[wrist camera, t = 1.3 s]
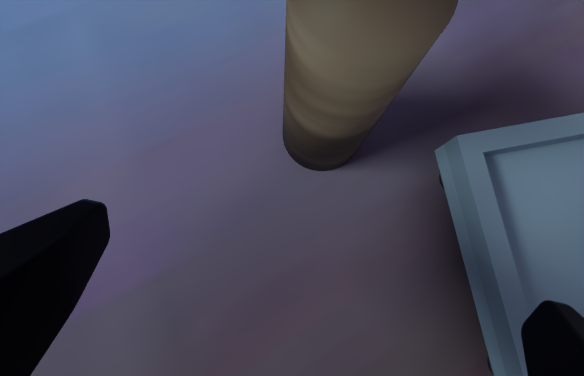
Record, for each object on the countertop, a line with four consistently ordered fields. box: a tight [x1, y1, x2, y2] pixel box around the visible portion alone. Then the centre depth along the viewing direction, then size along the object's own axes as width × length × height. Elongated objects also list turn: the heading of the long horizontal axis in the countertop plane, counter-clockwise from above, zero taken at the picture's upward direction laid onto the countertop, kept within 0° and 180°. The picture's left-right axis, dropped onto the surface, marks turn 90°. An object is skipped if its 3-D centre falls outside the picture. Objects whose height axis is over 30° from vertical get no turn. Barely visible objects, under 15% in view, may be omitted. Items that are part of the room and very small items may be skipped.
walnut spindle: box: [283, 0, 458, 171], centre depth 16 cm, size 4×4×12 cm
